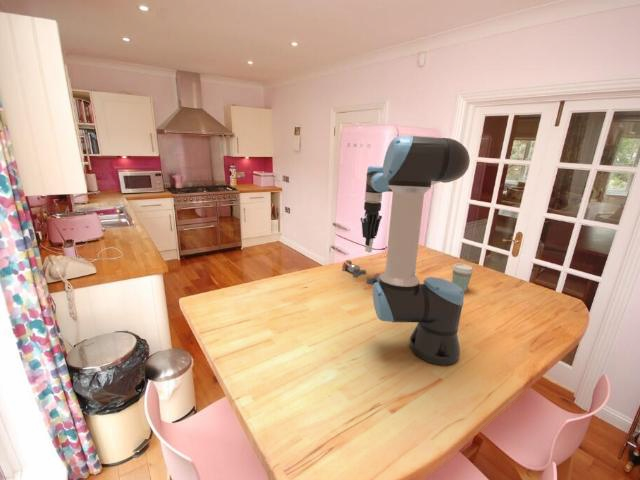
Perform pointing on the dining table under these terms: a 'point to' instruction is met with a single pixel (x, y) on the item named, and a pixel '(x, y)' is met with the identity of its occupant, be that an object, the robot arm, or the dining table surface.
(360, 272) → the pipe fitting
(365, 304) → the dining table surface
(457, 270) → the coffee cup
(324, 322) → the dining table surface
